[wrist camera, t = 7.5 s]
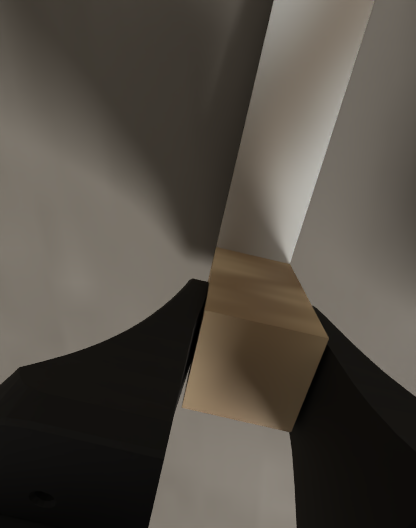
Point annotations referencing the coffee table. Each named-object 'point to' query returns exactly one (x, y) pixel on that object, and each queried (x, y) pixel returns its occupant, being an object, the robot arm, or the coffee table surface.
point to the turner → (274, 221)
